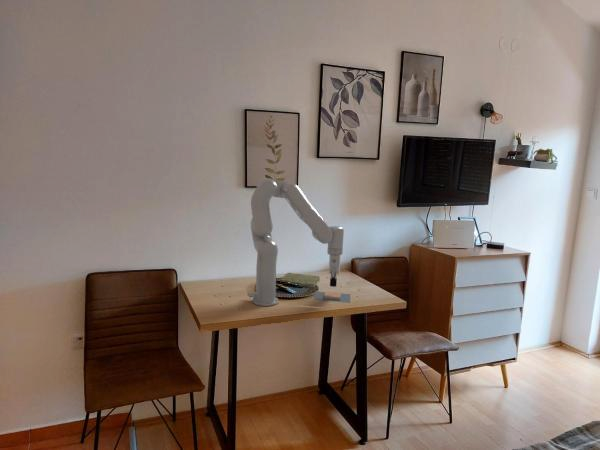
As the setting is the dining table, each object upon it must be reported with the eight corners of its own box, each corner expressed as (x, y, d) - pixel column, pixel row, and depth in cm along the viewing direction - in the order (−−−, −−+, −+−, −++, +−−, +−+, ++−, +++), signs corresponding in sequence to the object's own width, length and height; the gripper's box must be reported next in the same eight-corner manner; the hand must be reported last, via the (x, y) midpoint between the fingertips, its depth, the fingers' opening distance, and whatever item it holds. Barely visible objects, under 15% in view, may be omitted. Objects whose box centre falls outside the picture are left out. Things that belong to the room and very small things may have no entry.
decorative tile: (286, 277, 255) (286, 271, 255) (319, 280, 251) (320, 274, 251) (278, 286, 237) (278, 280, 237) (314, 290, 233) (314, 283, 233)
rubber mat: (313, 301, 214) (313, 299, 214) (316, 292, 227) (316, 291, 227) (349, 304, 212) (350, 302, 212) (350, 295, 225) (350, 294, 225)
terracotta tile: (325, 293, 224) (324, 298, 216) (325, 291, 223) (324, 296, 215) (340, 295, 222) (340, 300, 215) (340, 292, 222) (340, 297, 214)
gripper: (342, 254, 208) (339, 291, 211) (343, 248, 222) (341, 282, 225) (326, 253, 209) (324, 290, 212) (328, 247, 223) (326, 281, 226)
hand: (333, 286), depth 218 cm, fingers closed
